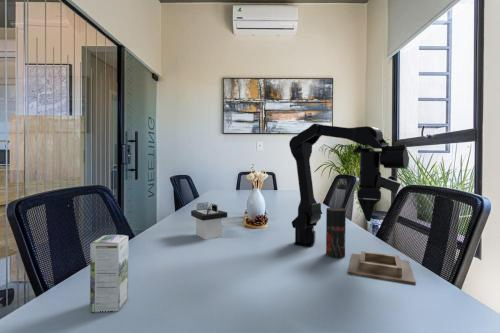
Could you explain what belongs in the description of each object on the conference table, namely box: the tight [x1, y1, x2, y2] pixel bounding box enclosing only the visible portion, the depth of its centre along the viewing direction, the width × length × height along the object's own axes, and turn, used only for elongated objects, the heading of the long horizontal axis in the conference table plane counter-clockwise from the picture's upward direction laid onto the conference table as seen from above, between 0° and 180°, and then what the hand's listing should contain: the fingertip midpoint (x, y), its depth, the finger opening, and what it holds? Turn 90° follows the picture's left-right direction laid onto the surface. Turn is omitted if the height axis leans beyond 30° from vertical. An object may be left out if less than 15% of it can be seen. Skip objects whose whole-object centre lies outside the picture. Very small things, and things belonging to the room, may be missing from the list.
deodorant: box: [325, 207, 347, 259], centre depth 91 cm, size 6×6×15 cm
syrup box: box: [89, 234, 129, 313], centre depth 60 cm, size 6×6×14 cm
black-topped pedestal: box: [190, 201, 228, 240], centre depth 114 cm, size 28×26×13 cm
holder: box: [347, 250, 417, 285], centre depth 81 cm, size 16×16×3 cm
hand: (368, 218), depth 87 cm, fingers open, 9 cm apart
